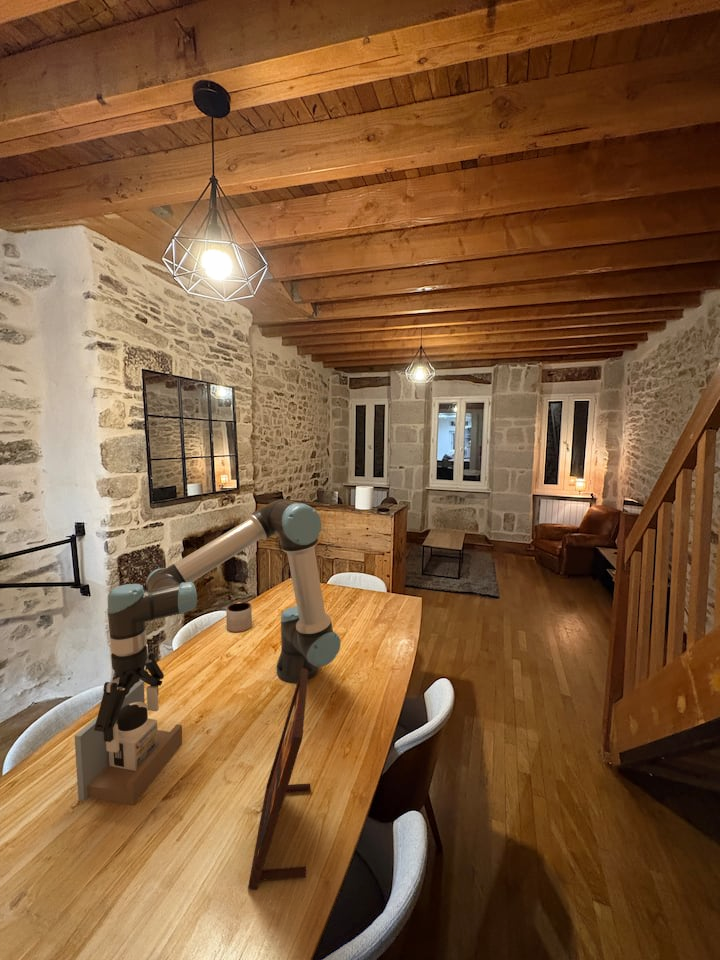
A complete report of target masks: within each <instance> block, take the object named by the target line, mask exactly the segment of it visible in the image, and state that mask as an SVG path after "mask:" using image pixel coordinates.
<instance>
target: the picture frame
mask: <svg viewBox="0 0 720 960" xmlns="http://www.w3.org/2000/svg"><path fill="white" fill-rule="evenodd" d="M308 681H309V680H308V669H304V668H302V669H301V672H300V675H299V679H298V682H296V686H295V688H294V693H293V695H292V700H291V703H290V705H289V710H288V712H287V717H286V720H285V723H284V726H283V730H282V732H281V737H280V739H279V742H278V746H277V751H276V753H275V756H274V760H273V763H272V766H271V770H270V773H269V776H268V780H267V783H266V786H265V790H264V791H265V792H264V798H263V804H262V808H261V814H260V820H259V825H258V831H257V836H256V842H255V847H254V853H253V857H252V864H251V870H250V874H249V879H248V886H247V890H253V891H257V889H258V886H259V883H260V881H271V880H272V881H273V880H284V879H285V880H286V879H298V878H306V877H307V866H292V867H278V868H267V869H266V868H265V869H264V866H265V863H266V860H267V856H268V855H269V854H268V853H269V850H270V846H271V843H272V840H273V836H274V834H275V830H276V826H277V823H278V820H279V817H280V814H281V810H282V807H283V803H284V801H285V798H286V794H287V793H298V792H299V793H300V792H311V785H312V784H311V783H295V784H292V783H291V784H290V781H291V777H292V774H293V771H294V768H295V765H296V760H297V758H298V755H299V751H300V748H301V745H302V741H303V735H304V734H303V733H304V725H305V714H306V713H305V712H306V703H307V702H306V699H307V689H308Z"/></svg>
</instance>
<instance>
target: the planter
mask: <svg viewBox="0 0 720 960" xmlns="http://www.w3.org/2000/svg"><path fill="white" fill-rule="evenodd" d="M252 608H253V607H252V604H251V603H250V602H246V601H238V602H232V603H230V604H228V605H227V606H226V612H225V613H226V629H227V630H228V631H229V632H230V633H231V632H232V633H241V631H242V632H245V631H247V630H249V629H250V628H251V627H252V626H253V625H252V624H253V615H252V613H253V611H252Z"/></svg>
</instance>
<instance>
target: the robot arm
mask: <svg viewBox="0 0 720 960" xmlns="http://www.w3.org/2000/svg"><path fill="white" fill-rule="evenodd" d="M322 525H323V524H322V519H321V516H320V514H319V512H317V510H316V509H315V508H313V507H312V506H310V505H308V504H307V503H303V502H297V501H294V500H291V499H286V498H283V499H277V500H275V501H272V502H270V503H268V504H266V505H264V506H263V507H261V508H259V509H257V510H255V511H254V512H253V513H251V514H249V515H248V519H247V520H245V521H244V522H241V523H240V524H238V525H236V526H235V527H233V528H231V529H230V530H228V531H226V532H225V533H223V534H222V535H220V536H218V537H217V538H214V539H213V540H211V541H209V542H208V543H207V544H205V545H203V546H201V547H200V548H199V549H197V550H195V551H193V552H191V553H190V554H188V555H187V556H184V557H183V558H181V559H180V560H177V562H175V563H173V564H172V565H169V566H168V567H166V568H162V567H161V568H160V567H159V568H156V569H154V570H153V571H152V572H150V573H149V575H148V576H147V578H146V589H147V590H145V589H144V586H143V585H142V584H139V583H132V584H129V583H126V584H122V585H118V586H116V587H114V588H112V589H111V590H110V591H109V592H108V594H107V616H108V617H107V619H108V620H107V621H108V628H109V629H108V630H109V643H110V652H111V655H110V658H111V659H110V660H111V669H112V670H113V671H114V673H115V677H114V679H113V680H112V681H106V682H105V683H104V685H103V695H102V698H101V701H100V705H99V710H98V712H97V716H98V717H97V716H96V717H97V720H96V724H95V728H94V730H95V731H100V732H103V733H104V741H106V749H107V751H109V752H116V753H117V752H118V751H119V736H118V724H115V722H116V720H117V717H118V714H119V712H120V709H121V707H122V704H123V702H124V699H125V696H126V695H127V694H128V693H129V691H130V689H131V688H132V687H133V686H134V685H135V684H136V683H138V682H139V681H140V679H141V680H142V681H144V683H146V684H147V686H146V687H145V689H146V702H147V703H146V705H147V709H148V712H149V711H151V712H158V711H159V707H160V706H159V686H161V685H162V684H163V679H164V677H165V675H164V672H163V671H162V670H161V668H160V666H159V664H158V663H157V661H156V659H155V654H154V653H153V652H148V653H147V645H148V643H147V642H148V641H147V640H148V639H147V629H146V628H147V627H146V623H147V622H152V621H155V620H158V619H160V620H161V619H163V618H168V617H172V616H175V615H176V616H177V615H182V614H184V613H188V612H191V611H193V610H195V609H196V608H197V604H198V594H197V590H196V585H195V583H194V582H195V581H196V580H198V579H200V578H201V577H203V576H204V575H206V574H208V573H209V572H211V571H213V570H214V569H216V568H217V567H219V566H220V565H222V564H223V563H225V562H226V561H228V560H230V559H232V558H233V557H235V556H236V555H238V554H240V553H241V552H242V551H244V550H246V549H248V548H249V547H250V546H252V545H254V544H255V543H257V542H258V541H260V540H263V541H265V540H267V539H269V538H271V537H273V536H275V535H278V538H279V542H280V543H279V545H280V549H281V550H282V551H283V552H285V553H286V554H287V560H288V564H289V565H288V566H289V572H290V575H291V582H292V587H293V593H294V598H295V602H296V605H295V606H291V607H288V608H286V609H284V610H283V611H282V612H281V617H280V632H281V633H280V635H281V637H280V638H281V639H280V643H281V644H280V645H281V649H280V650H281V651H280V654H279V657H278V660H277V664H276V675H277V677H278V678H279V679H280V680H282V681H284V682H287V683H297V682H298V679H299V675H300V672H301V669H302V668H304V669H308V680H307V681H309V680H311V679H312V678H314V677H315V676H316V675H317V674H318V672H319V671H320V670H319V668H322V667H325V666H327V665H329V664H331V663H332V662H333V661H334V660H335V659H336V657H337V655H338V654H339V652H340V649H341V645H342V644H341V638H340V637H339V635H338V633H336V632H334V629H333V623H332V619H331V616H330V615H329V614H327V613H326V611H325V604H324V598H323V591H322V586H321V580H320V574H319V568H318V562H317V556H316V551H315V550H316V549H315V547H317V545H318V543H319V539H318V538H319V536H320V533H321V532H322ZM146 644H147V645H146ZM145 666H146V669H144V667H145ZM120 688H121V689H120ZM122 688H125V690H122Z"/></svg>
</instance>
